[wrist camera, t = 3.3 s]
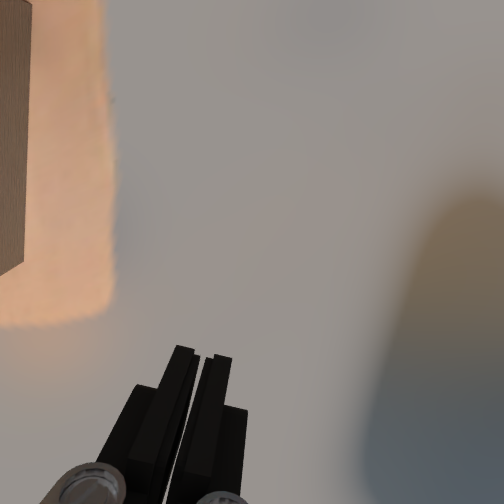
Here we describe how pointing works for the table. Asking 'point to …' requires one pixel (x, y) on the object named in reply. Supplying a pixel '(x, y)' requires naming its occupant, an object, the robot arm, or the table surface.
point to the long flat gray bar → (13, 127)
